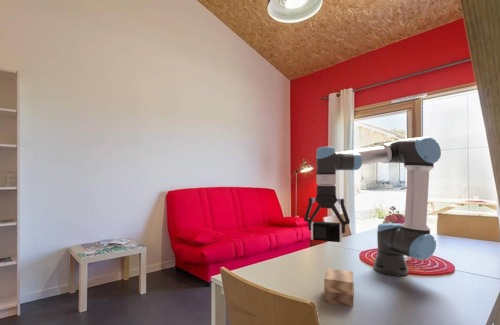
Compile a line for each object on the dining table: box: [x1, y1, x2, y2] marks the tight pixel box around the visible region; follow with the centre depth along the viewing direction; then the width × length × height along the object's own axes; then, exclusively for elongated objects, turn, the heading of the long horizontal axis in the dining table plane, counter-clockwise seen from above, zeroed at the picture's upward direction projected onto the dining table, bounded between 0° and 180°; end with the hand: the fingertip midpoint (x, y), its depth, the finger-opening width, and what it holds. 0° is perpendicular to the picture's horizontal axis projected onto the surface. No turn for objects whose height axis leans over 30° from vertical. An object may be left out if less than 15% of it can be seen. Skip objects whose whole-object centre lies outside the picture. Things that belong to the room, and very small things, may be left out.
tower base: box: [324, 282, 355, 307], centre depth 112 cm, size 10×12×4 cm
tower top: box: [323, 268, 354, 295], centre depth 112 cm, size 10×12×4 cm
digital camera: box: [312, 221, 341, 243], centre depth 116 cm, size 10×5×7 cm, turn 69°
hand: (326, 240), depth 115 cm, fingers closed on digital camera, 10 cm apart
